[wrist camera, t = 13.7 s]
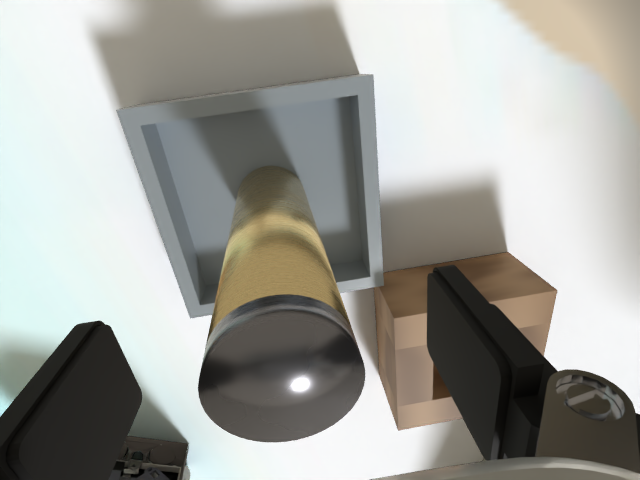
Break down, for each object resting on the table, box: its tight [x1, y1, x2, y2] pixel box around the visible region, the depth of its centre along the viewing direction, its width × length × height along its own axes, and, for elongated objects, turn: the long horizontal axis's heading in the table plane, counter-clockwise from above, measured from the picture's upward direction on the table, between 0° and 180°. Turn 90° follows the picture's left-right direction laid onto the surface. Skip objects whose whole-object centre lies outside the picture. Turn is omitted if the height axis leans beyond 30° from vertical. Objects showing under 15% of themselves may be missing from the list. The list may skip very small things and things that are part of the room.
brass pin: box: [198, 166, 365, 442], centre depth 15 cm, size 4×4×14 cm
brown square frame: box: [374, 252, 557, 430], centre depth 25 cm, size 10×10×5 cm
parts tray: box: [116, 74, 384, 318], centre depth 20 cm, size 12×12×3 cm
